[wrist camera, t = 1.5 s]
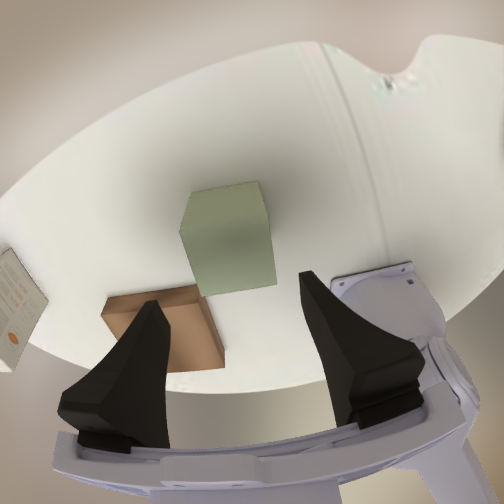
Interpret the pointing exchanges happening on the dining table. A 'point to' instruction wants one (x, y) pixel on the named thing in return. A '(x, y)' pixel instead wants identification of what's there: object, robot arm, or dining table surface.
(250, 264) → the sage block
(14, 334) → the small box
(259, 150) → the dining table surface
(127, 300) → the walnut pad
